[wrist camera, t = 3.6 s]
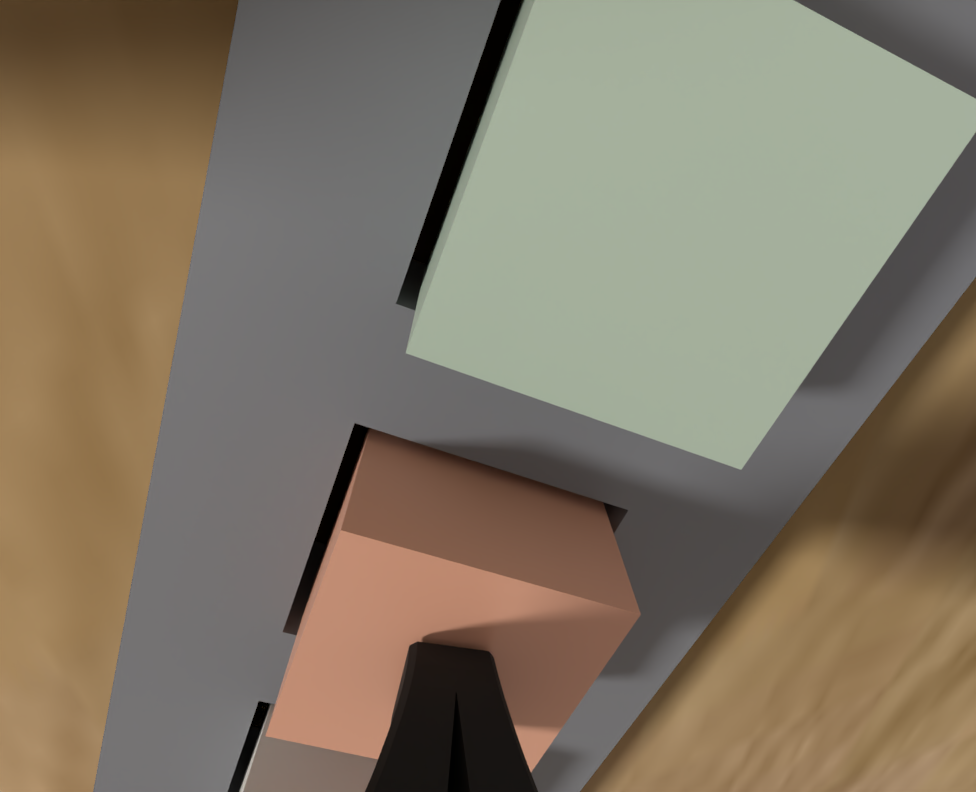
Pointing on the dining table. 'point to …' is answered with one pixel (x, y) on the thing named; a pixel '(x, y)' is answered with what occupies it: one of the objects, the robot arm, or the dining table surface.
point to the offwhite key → (302, 767)
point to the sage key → (678, 209)
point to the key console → (434, 381)
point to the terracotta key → (452, 596)
